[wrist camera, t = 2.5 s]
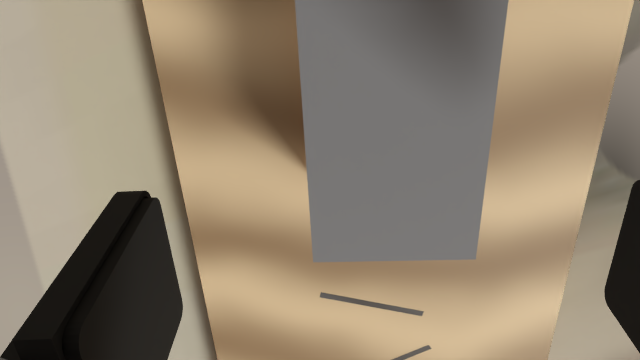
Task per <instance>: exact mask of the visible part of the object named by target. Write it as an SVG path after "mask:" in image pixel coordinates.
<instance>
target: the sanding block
mask: <svg viewBox="0 0 640 360" xmlns="http://www.w3.org/2000/svg"><path fill="white" fill-rule="evenodd" d="M508 1H509V0H295V10H296V24H297V38H298V53H299V67H300V81H301V96H302V110H303V124H304V139H305V153H306V168H307V182H308V196H309V211H310V225H311V239H312V254H313V262H365V261H421V260H476V254H477V247H478V239H479V231H480V223H481V215H482V207H483V199H484V191H485V183H486V175H487V167H488V159H489V151H490V143H491V136H492V128H493V120H494V112H495V104H496V96H497V88H498V80H499V72H500V64H501V56H502V48H503V40H504V32H505V25H506V17H507V9H508Z"/></svg>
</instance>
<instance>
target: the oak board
mask: <svg viewBox="0 0 640 360" xmlns="http://www.w3.org/2000/svg"><path fill="white" fill-rule="evenodd" d="M142 2H143V6H144V11H145V16H146V21H147V25H148V30H149V35H150V40H151V45H152V49H153V54H154V59H155V64H156V68H157V73H158V78H159V83H160V88H161V92H162V97H163V102H164V107H165V111H166V116H167V121H168V126H169V131H170V135H171V140H172V145H173V150H174V154H175V159H176V164H177V169H178V174H179V178H180V183H181V188H182V193H183V197H184V202H185V207H186V212H187V217H188V221H189V226H190V231H191V236H192V240H193V245H194V250H195V255H196V260H197V264H198V269H199V274H200V279H201V283H202V288H203V293H204V298H205V303H206V307H207V312H208V317H209V322H210V326H211V331H212V336H213V341H214V346H215V350H216V355H217V360H547V359H548V355H549V351H550V347H551V343H552V339H553V334H554V330H555V326H556V322H557V318H558V314H559V310H560V305H561V301H562V297H563V293H564V289H565V285H566V280H567V276H568V272H569V268H570V264H571V260H572V256H573V251H574V247H575V243H576V239H577V235H578V231H579V227H580V222H581V218H582V214H583V210H584V206H585V202H586V197H587V193H588V189H589V185H590V181H591V177H592V173H593V168H594V164H595V160H596V156H597V152H598V148H599V144H600V139H601V135H602V131H603V127H604V123H605V119H606V115H607V110H608V106H609V102H610V98H611V94H612V89H613V85H614V81H615V77H616V73H617V69H618V65H619V61H620V56H621V52H622V48H623V44H624V40H625V36H626V32H627V27H628V23H629V19H630V15H631V11H632V7H633V2H634V0H509V1H508V9H507V17H506V25H505V32H504V40H503V48H502V56H501V64H500V72H499V80H498V88H497V96H496V104H495V112H494V120H493V128H492V136H491V143H490V151H489V159H488V167H487V175H486V183H485V191H484V199H483V207H482V215H481V223H480V231H479V239H478V247H477V254H476V260H421V261H365V262H313V254H312V239H311V225H310V211H309V196H308V182H307V168H306V153H305V139H304V124H303V110H302V96H301V81H300V67H299V53H298V38H297V24H296V10H295V0H142Z"/></svg>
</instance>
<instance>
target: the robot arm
mask: <svg viewBox="0 0 640 360" xmlns="http://www.w3.org/2000/svg"><path fill="white" fill-rule="evenodd" d="M605 300H606V303H607V305H608V307H609V309H610V310H611V312H612V313H613V315H614V316H615V317H616V319H617V320H618V322H619V323H620V325H621V326H622V328H623V329H624V331H625V332H626V334H627V335H628V337H629V338H630V339H631V341H632V342H633V344H634V345H635V347H636V348H637V350H638V351H639V353H640V180H638V181H636V182H635V183H634V184H633V187H632V189H631V193H630V197H629V200H628V204H627V208H626V212H625V215H624V219H623V223H622V226H621V230H620V234H619V238H618V241H617V245H616V249H615V252H614V256H613V260H612V263H611V267H610V271H609V275H608V278H607V282H606V286H605ZM182 310H183V304H182V298H181V293H180V289H179V284H178V280H177V275H176V271H175V267H174V262H173V258H172V253H171V249H170V244H169V240H168V235H167V231H166V226H165V222H164V218H163V213H162V209H161V204H160V201H159V200H158V198H151V196H150V194H149V193H148V192H147V191H127V192H117V193H116V194H115V195H114V196H113V197H112V199H111V200H110V202H109V203H108V205H107V206H106V207H105V209H104V210H103V212H102V213H101V214H100V216H99V217H98V219H97V220H96V222H95V223H94V224H93V226H92V227H91V229H90V230H89V232H88V233H87V234H86V236H85V237H84V239H83V240H82V241H81V243H80V244H79V246H78V247H77V249H76V250H75V251H74V253H73V254H72V256H71V257H70V258H69V260H68V261H67V263H66V264H65V266H64V267H63V268H62V270H61V271H60V273H59V274H58V275H57V277H56V278H55V280H54V281H53V283H52V284H51V285H50V287H49V288H48V290H47V291H46V293H45V294H44V295H43V297H42V298H41V300H40V301H39V302H38V304H37V305H36V307H35V308H34V310H33V311H32V312H31V314H30V315H29V317H28V318H27V319H26V321H25V322H24V324H23V325H22V327H21V328H20V329H19V331H18V332H17V334H16V335H15V337H14V338H13V339H12V341H11V343H10V344H9V345H8V347H7V348H6V350H5V351H4V352H3V354H2V355H1V357H0V360H167V359H168V356H169V353H170V350H171V347H172V344H173V341H174V338H175V335H176V333H177V330H178V327H179V324H180V321H181V317H182Z"/></svg>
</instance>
